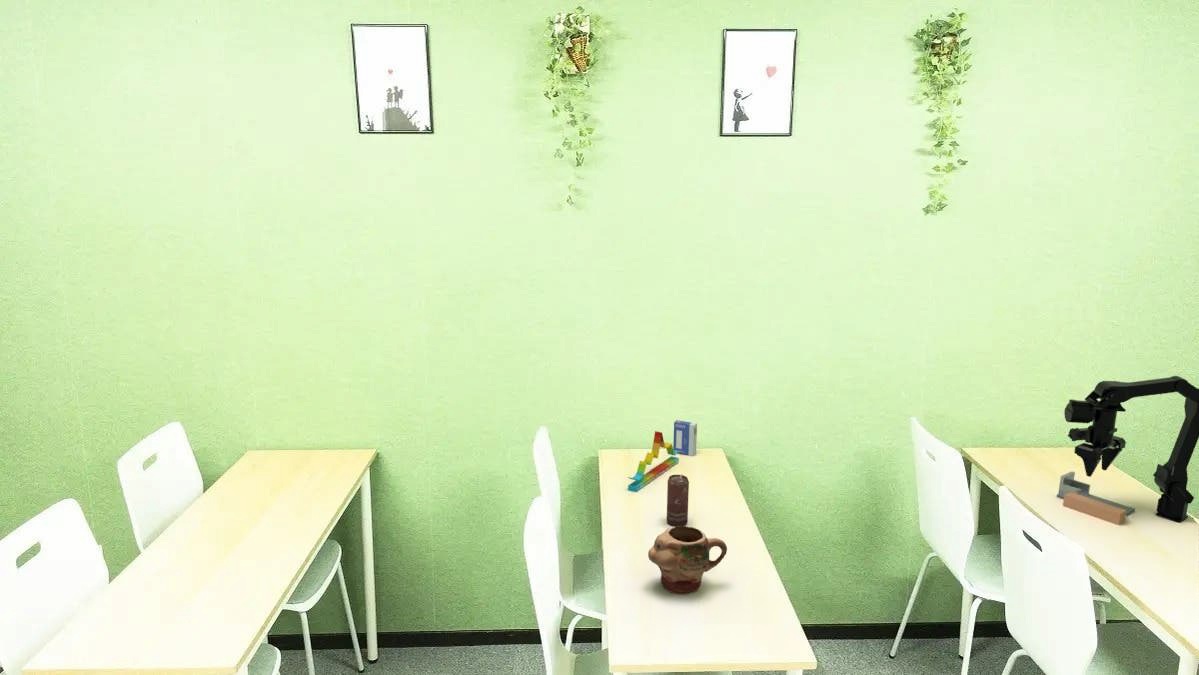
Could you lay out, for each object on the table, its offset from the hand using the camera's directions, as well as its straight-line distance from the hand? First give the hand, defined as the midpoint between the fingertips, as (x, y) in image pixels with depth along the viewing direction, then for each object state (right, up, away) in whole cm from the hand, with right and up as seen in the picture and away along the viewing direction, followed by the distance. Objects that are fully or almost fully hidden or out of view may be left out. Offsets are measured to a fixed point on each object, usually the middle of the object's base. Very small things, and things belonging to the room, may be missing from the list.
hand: (1096, 473), depth 245 cm
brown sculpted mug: (-128, -21, -41) cm, 136 cm away
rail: (-1, -13, +1) cm, 13 cm away
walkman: (-119, -1, +48) cm, 129 cm away
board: (+4, -11, +7) cm, 14 cm away
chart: (-132, -6, +27) cm, 135 cm away
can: (-127, -13, -7) cm, 128 cm away
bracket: (+1, -10, +12) cm, 16 cm away
